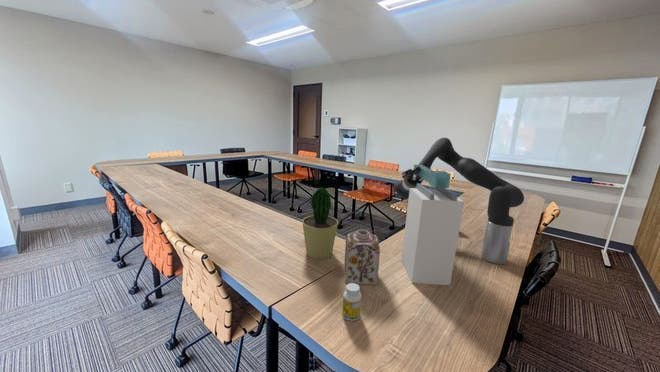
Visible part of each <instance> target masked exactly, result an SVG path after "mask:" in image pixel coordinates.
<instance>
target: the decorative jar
mask: <svg viewBox="0 0 660 372" xmlns="http://www.w3.org/2000/svg"><path fill="white" fill-rule="evenodd" d="M380 248H381V247H380V243H379V238H378V236H377V235H376V234H373V233H371V232H370V231H368V230H366V229H358V230H356V231H353V232H349V233H347V234H346V237H345V250H344V283H345V284H346V285H347V284H349V283H354V284H357V285H365V284H367V285H370V286H377V285H378V279H379V269H380V256H381V251H380V250H381V249H380Z"/></svg>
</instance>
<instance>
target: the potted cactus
mask: <svg viewBox="0 0 660 372" xmlns="http://www.w3.org/2000/svg"><path fill="white" fill-rule="evenodd" d="M311 195H312V196H309V197H310V204H311V205H310V207H311V208H310V209H311V211H312V212H313V213H311V214H312V215H309V216H306V217H304V218H302V221H301V222H302V229H303V237H304V238H303V239H304V244H305V253H306V255H307V256H308V257H309V258H311V259H316V260H325V259H328V258H330V257H331V256H332V253H333V250H334V246H335V245H334V244H335V240H336V236H337V231H338V226H339V225H338V224H339V220H338V219H336V218H335V217H334V216H333V217H332V216H329V215H330V210H333V208H332V198H331V197H332V194H331V193H330V192H328V189H327V188H325V187H319V188H318V189H316V190H315V191H314V192H313V191H312V194H311Z"/></svg>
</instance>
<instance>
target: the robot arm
mask: <svg viewBox="0 0 660 372" xmlns="http://www.w3.org/2000/svg"><path fill="white" fill-rule="evenodd" d="M437 158H438V159H439V160H441V161H442V162H443V163H445V164H447V165H449V166H450V167H452V168H453V170H455V171H456V172H457V173H459V175H460V176H462V177H463V178H464V179H466V180H467V181H468V182H470V183H472V184H474V185H476V186H479V187H482V188H483V189H486V190H488V191H490V193H489V197H488V204H487V216H488V217H487V222H486V223H487V224H486V227H485V233H484V237H483V238H484V239H483V242H482V243H483V244H482V248H481V252H480V257H481V258H482V259H483V260H485V261H486V262H489V263H491V264H497V265H500V264H501V265H502V264H503V265H506V264H507V260H508V256H509V251H510V246H511V244H510V239H511V235H512V232H513V227H514V223H515V219H514V217H513V216H511V215H510V209H511V208H516V207H518V206H521V205H522V204H523V203H524V201H525V195H524V193H523V192H522V190H521V189H520V188H519V187H517V186H516V185H514V184H512V183H510V182H508V181H506V180H504V179H502V178H501V177H499V176H498V175H496V174H495V173H494V172H492V171H491V170H489V169H488V168H486V167H485V166H484V165H482V164H481V163H479V162H478V161H477V160H475V159H474V158H472V157H471V158H470V157H463V156H462V155H460V154H459V153H458V152H457V151H456V150H455V148H454V146H453V144H452V142H451V140H450V139H449V138H448V137H441V138H438V139H437V140H436V141H434V143H433V144H432V145H431V146H430V149H429V150H428V151H427V152H426V153H425V155H424V157H423V158H422V159H421V160H420V162H419V163H418V164H417V165H423V166H425V167H427V168H429V169H431V170H432V168H431V167H432V165H433V164H434V162H435V160H436V159H437ZM419 172H420V166H418V167H416V168H415V169H414V168H413V169H411V168H409V169H407V170H405V171H403V172H402V173H401V174H402V175H401V179H400V180H397V181H396V182H394V184H393V187H392V190H393V191H394V192H395V193H396V195H398V196H399V197H400V198H401V199H403V200H408V199H409V191H410V188H416V186H417V184H421V185H422V183H423V181H425V180H424V179H423V178H421V177H420V176H418V175H417V174H418V173H419Z"/></svg>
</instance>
